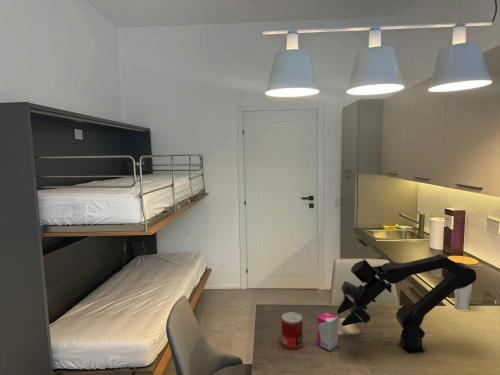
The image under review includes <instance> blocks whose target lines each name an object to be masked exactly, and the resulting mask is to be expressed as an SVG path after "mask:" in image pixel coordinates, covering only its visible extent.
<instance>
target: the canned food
mask: <svg viewBox="0 0 500 375" xmlns="http://www.w3.org/2000/svg"><path fill="white" fill-rule="evenodd" d="M303 327H304V326H303V316H302V315H301V314H299V313H297V312H284V313H282V315H281V343H282V347H285V348H286V349H288V350H298V349H301V347H302V346H303V342H304V341H303V338H304V337H303V334H304V333H303V330H304V329H303Z"/></svg>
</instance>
